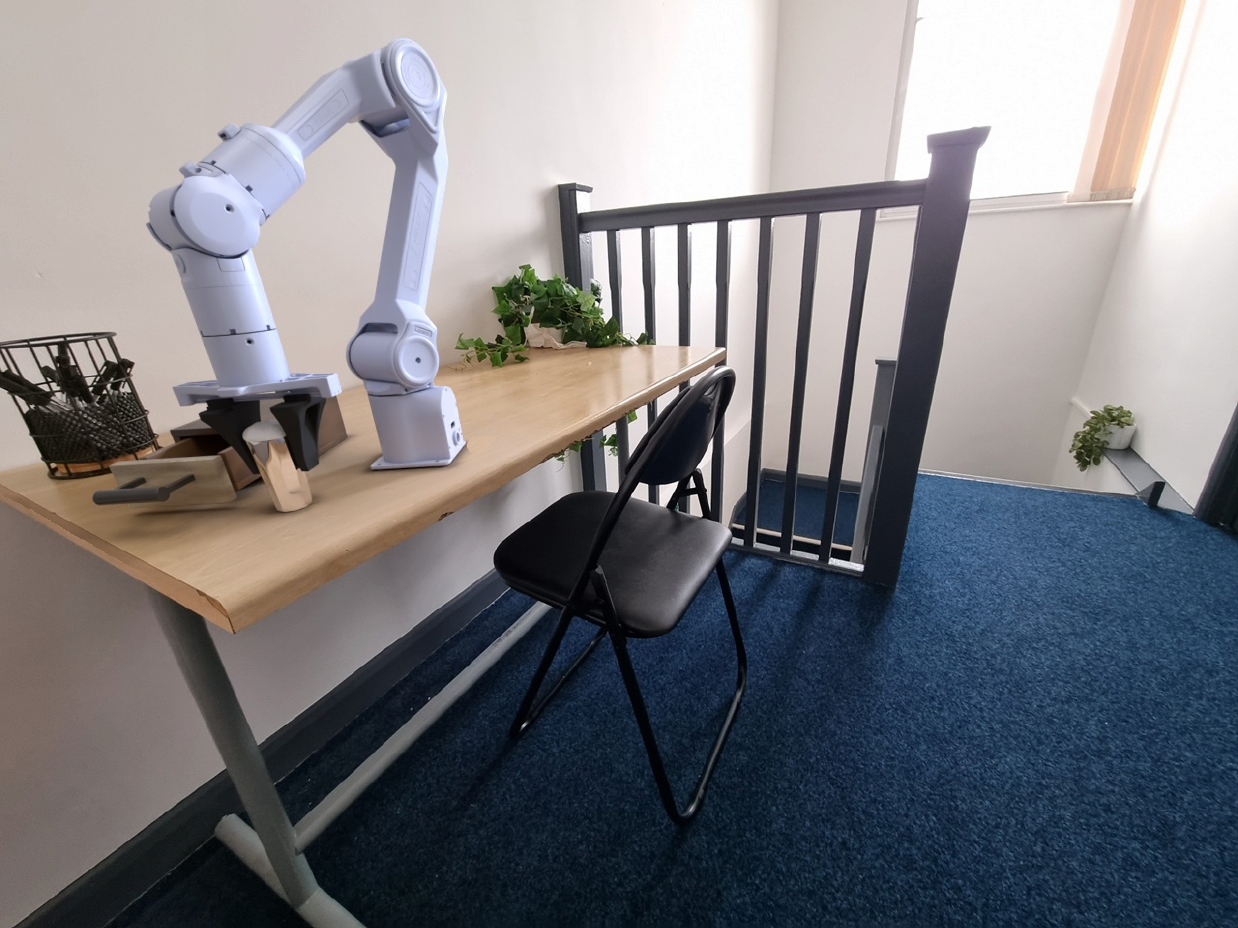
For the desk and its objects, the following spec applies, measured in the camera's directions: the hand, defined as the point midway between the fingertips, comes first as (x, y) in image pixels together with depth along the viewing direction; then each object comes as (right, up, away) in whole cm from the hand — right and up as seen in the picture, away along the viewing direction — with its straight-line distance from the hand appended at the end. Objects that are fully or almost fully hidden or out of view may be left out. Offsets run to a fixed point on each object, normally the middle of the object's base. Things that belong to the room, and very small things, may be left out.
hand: (286, 469), depth 50 cm
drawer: (-11, -2, +5) cm, 12 cm away
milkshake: (0, -4, +2) cm, 4 cm away
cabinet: (-11, +1, +15) cm, 19 cm away
